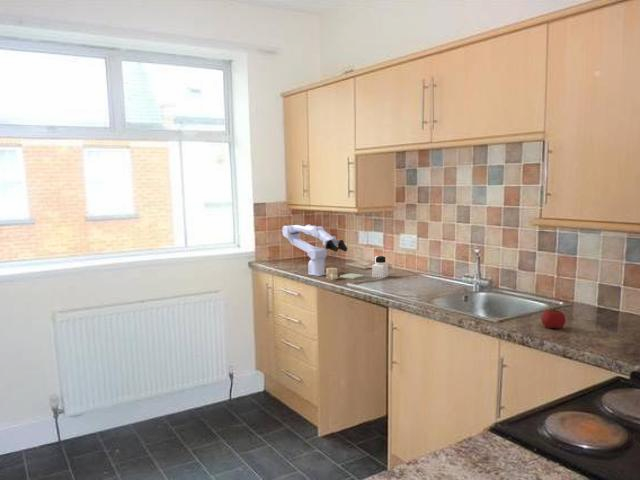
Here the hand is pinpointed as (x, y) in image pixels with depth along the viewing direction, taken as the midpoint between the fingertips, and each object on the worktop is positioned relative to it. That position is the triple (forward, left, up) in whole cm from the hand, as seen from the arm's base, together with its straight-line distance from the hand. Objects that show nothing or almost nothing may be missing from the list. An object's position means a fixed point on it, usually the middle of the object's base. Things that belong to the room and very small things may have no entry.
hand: (342, 250), depth 283 cm
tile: (0, +9, -17) cm, 19 cm away
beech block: (-5, -3, -17) cm, 18 cm away
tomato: (+122, -25, -17) cm, 125 cm away
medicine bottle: (+13, +19, -17) cm, 28 cm away
